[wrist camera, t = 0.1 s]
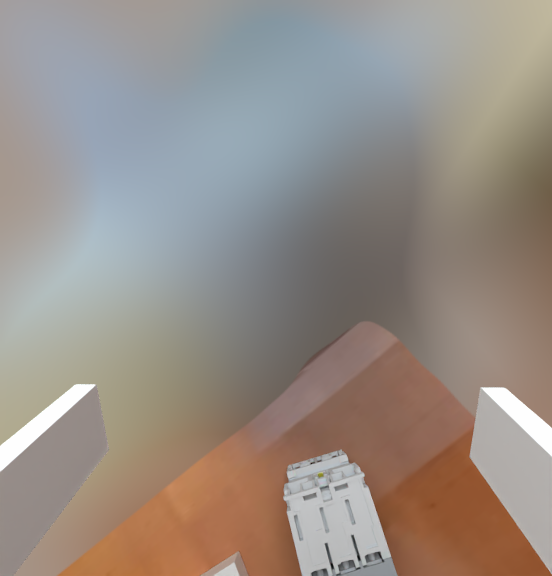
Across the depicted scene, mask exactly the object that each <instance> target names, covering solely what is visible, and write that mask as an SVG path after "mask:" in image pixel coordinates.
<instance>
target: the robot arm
mask: <svg viewBox="0 0 552 576" xmlns="http://www.w3.org/2000/svg"><path fill="white" fill-rule="evenodd" d="M108 450H109V447H108V442H107V437H106V432H105V426H104V421H103V416H102V411H101V406H100V401H99V395H98V390H97V385H82V384H81V385H80V384H77V385H74V386H73V387H72V388H71V389H70V390H68V391H67V392H66V393H65V394H63V395H62V396H61V397H60V398H59V399H57V400H56V401H55V402H54V403H52V404H51V405H50V406H49V407H48V408H46V409H45V410H44V411H43V412H41V413H40V414H39V415H38V416H36V417H35V418H34V419H33V420H32V421H30V422H29V423H28V424H27V425H26V426H24V427H23V428H22V429H21V430H19V431H18V432H17V433H16V434H14V436H12V437H11V438H10V439H9V440H7V441H6V442H5V443H4V444H2V445H1V446H0V576H14V574H15V573H16V572H17V570H18V569H19V568H20V566H21V565H22V564H23V562H24V561H25V560H26V558H27V557H28V556H29V554H30V553H31V552H32V550H33V549H34V548H35V546H36V545H37V544H38V542H39V541H40V540H41V539H42V537H43V536H44V535H45V533H46V532H47V531H48V529H49V528H50V527H51V525H52V524H53V523H54V521H55V520H56V519H57V518H58V516H59V515H60V514H61V512H62V511H63V510H64V508H65V507H66V506H67V504H68V503H69V502H70V500H71V499H72V498H73V496H74V495H75V494H76V492H77V491H78V490H79V488H80V487H81V486H82V485H83V483H84V482H85V481H86V479H87V478H88V476H89V475H90V474H91V473H92V471H93V470H94V469H95V467H96V466H97V465H98V463H99V462H100V461H101V460H102V458H103V457H104V455H105V454H106V453H107V452H108ZM470 458H471V460H472V461H473V463H474V464H475V465H476V467H477V468H478V470H479V471H480V473H481V474H482V475H483V477H484V478H485V480H486V481H487V483H488V484H489V485H490V487H491V488H492V490H493V491H494V493H495V494H496V495H497V497H498V498H499V500H500V501H501V503H502V504H503V505H504V507H505V508H506V510H507V511H508V512H509V514H510V515H511V517H512V518H513V520H514V521H515V522H516V524H517V525H518V527H519V528H520V530H521V531H522V532H523V534H524V535H525V537H526V538H527V540H528V541H529V542H530V544H531V545H532V547H533V548H534V550H535V551H536V552H537V554H538V555H539V557H540V558H541V560H542V561H543V562H544V564H545V565H546V567H547V568H548V569H549V571H550V572H551V574H552V428H551V427H550V426H549V425H547V424H546V423H545V422H544V421H543V420H542V419H541V418H539V417H538V416H537V415H536V414H535V413H534V412H532V411H531V410H530V409H529V408H528V407H527V406H525V405H524V404H523V403H522V402H520V401H519V400H518V399H517V398H516V397H515V396H514V395H513V394H512V393H510V392H509V391H508V390H507V389H506V388H480V395H479V401H478V407H477V414H476V420H475V426H474V432H473V439H472V445H471V451H470Z"/></svg>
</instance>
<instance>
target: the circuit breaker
mask: <svg viewBox="0 0 552 576" xmlns="http://www.w3.org/2000/svg"><path fill="white" fill-rule="evenodd" d="M335 455H336V456H337V457H334V458H332V456H335ZM319 460H321V461H320V462H318V461H319ZM312 462H315V463H314V464H311V463H312ZM299 466H300V468H297V469H296V468H295V467H299ZM287 475H288V479H289V483H286V484H285V485H284V494H285V496H284V501H286V502H287V514H288V518H289V522H290V527H291V531H292V535H293V539H294V543H295V548H296V552H297V556H298V560H299V564H300V569H301V573H302V576H397V573H396V570H395V567H394V564H393V561H392V558H391V555H390V552H389V549H388V545H387V542H386V539H385V536H384V533H383V530H382V527H381V524H380V521H379V518H378V515H377V512H376V509H375V506H374V503H373V500H372V497H371V494H370V491H369V488H368V486H367V485H366V484H365V482H364V479H363V477H365V476H364V473H363V472H361V470H360V467H359V466H358V465H357V464H356V463H352V464H350V463H349V462H348V458H347V455H346V454H345V453H344V452H343V451H342V450H338V451H335V452H332V453H328V454H325V455H322V456H318V457H315V458H312V459H308V460H305V461H302V462H298V463H295V464H292V465H288V468H287Z"/></svg>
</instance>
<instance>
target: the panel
mask: <svg viewBox="0 0 552 576" xmlns="http://www.w3.org/2000/svg"><path fill="white" fill-rule="evenodd" d="M200 576H248V573H247V570H246V568H245V565H244V563H243V560H242V558H241V555H240V553H239V551H238V552H237V553H235V554H233V555H232V556H230V557H229V558H227V559H226V560H224V561H222V562H221V563H219V564H218V565H216V566H214V567H213V568H211V569H210V570H208V571H207V572H205V573H203V574H202V575H200Z"/></svg>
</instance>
